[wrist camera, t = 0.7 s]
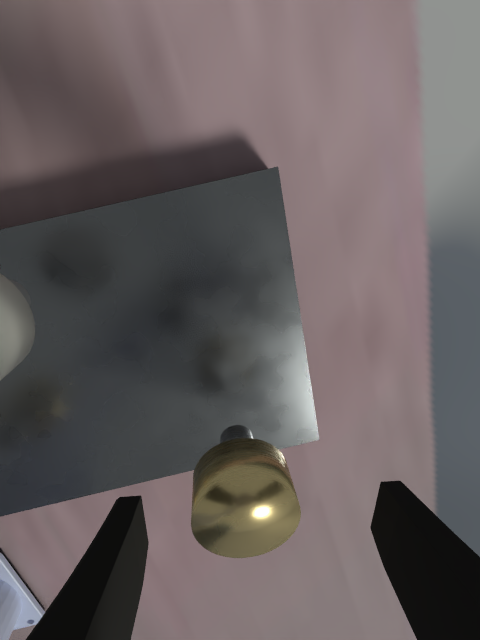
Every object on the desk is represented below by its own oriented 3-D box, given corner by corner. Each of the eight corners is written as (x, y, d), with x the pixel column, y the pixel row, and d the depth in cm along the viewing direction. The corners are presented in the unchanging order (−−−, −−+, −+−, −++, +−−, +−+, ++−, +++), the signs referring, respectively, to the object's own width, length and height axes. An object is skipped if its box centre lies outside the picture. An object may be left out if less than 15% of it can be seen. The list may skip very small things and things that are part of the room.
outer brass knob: (206, 478, 17) (206, 568, 13) (185, 415, 15) (177, 494, 11) (282, 460, 17) (307, 543, 13) (269, 395, 15) (292, 466, 11)
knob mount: (-40, 501, 21) (-64, 531, 19) (-207, 277, 15) (-263, 289, 14) (309, 418, 21) (319, 439, 19) (269, 169, 16) (277, 166, 14)
